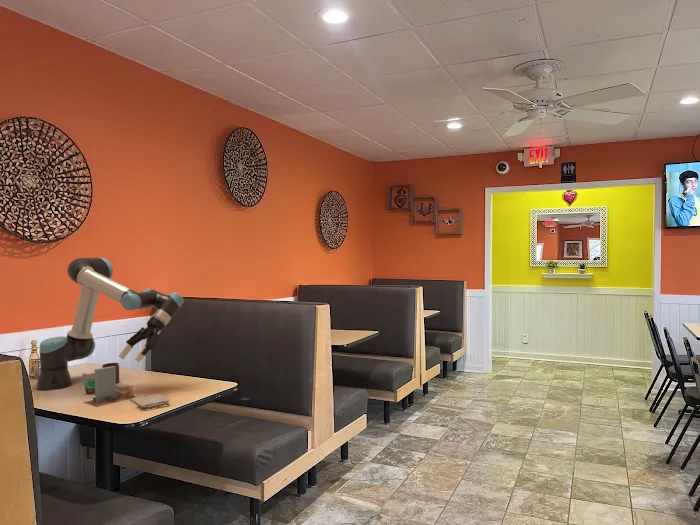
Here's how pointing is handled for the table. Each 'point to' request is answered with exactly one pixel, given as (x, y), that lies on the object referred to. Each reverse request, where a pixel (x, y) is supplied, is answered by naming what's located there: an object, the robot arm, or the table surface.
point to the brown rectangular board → (106, 400)
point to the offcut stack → (124, 391)
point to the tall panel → (105, 382)
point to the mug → (115, 367)
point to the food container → (89, 383)
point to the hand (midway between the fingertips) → (128, 359)
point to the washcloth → (150, 401)
